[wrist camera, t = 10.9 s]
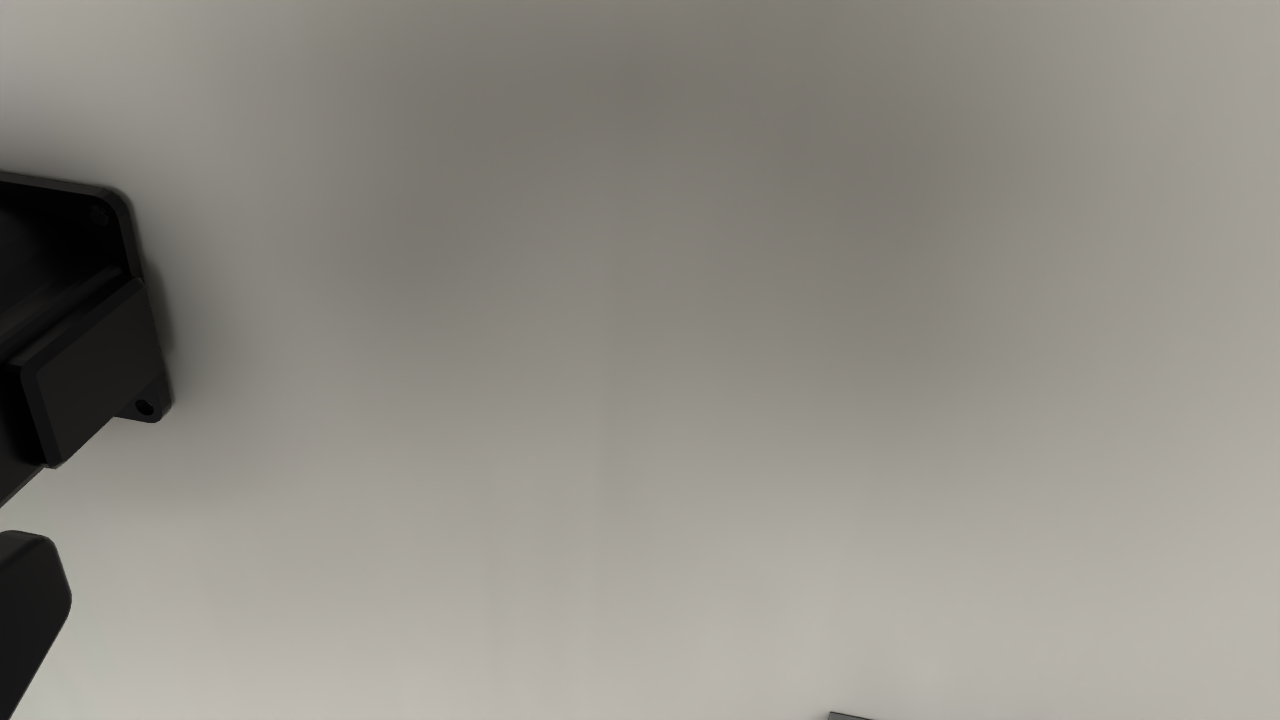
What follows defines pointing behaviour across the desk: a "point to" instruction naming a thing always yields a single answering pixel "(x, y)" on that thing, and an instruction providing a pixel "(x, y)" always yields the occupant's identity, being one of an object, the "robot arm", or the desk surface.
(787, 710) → the desk surface
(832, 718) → the tray
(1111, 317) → the desk surface
